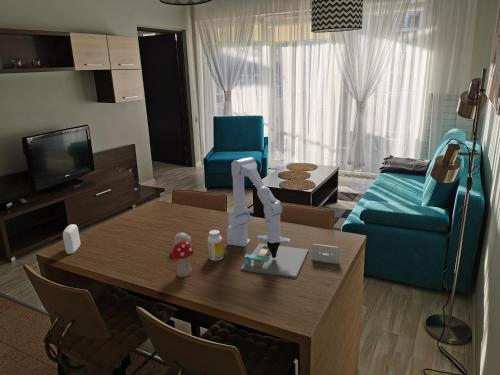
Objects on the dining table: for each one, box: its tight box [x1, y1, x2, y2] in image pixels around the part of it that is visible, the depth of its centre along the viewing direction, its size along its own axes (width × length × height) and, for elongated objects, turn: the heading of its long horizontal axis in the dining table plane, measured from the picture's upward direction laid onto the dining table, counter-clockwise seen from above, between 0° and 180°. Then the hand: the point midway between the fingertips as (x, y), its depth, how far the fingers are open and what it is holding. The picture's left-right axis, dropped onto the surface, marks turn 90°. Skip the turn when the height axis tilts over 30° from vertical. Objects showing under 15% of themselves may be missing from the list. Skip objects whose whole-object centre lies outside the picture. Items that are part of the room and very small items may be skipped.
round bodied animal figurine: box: [171, 232, 192, 249], centre depth 187 cm, size 7×12×8 cm, turn 154°
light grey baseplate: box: [240, 243, 309, 279], centre depth 173 cm, size 24×25×1 cm
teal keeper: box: [243, 253, 270, 265], centre depth 167 cm, size 10×3×5 cm, turn 70°
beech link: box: [253, 245, 271, 267], centre depth 173 cm, size 17×4×3 cm, turn 162°
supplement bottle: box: [207, 229, 224, 262], centre depth 176 cm, size 7×7×13 cm
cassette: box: [311, 243, 341, 265], centre depth 170 cm, size 12×2×8 cm, turn 69°
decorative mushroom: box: [170, 241, 195, 278], centre depth 162 cm, size 10×9×15 cm
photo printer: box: [62, 224, 82, 255], centre depth 190 cm, size 10×4×12 cm, turn 2°
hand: (274, 256), depth 172 cm, fingers closed
